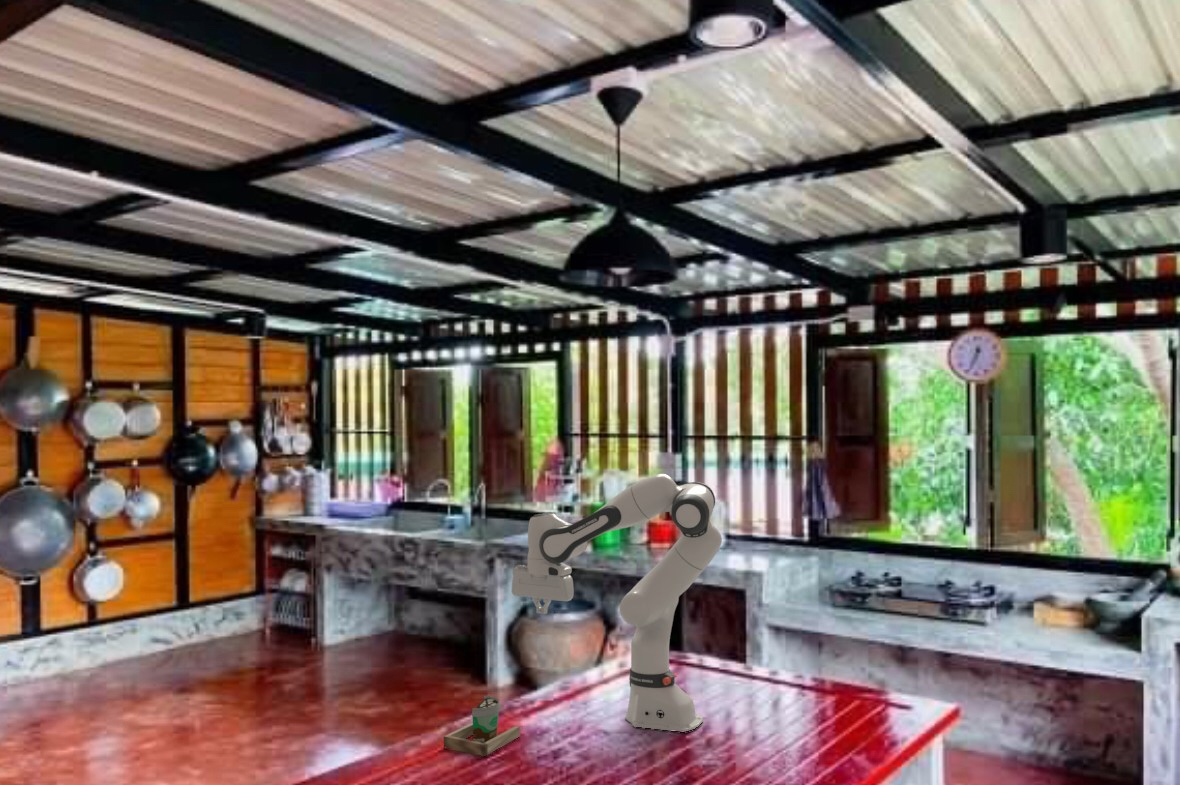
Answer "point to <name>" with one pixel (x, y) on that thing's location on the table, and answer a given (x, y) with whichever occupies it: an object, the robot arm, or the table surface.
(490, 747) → the wooden u-shaped frame
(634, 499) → the robot arm
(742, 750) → the table surface
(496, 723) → the food container
